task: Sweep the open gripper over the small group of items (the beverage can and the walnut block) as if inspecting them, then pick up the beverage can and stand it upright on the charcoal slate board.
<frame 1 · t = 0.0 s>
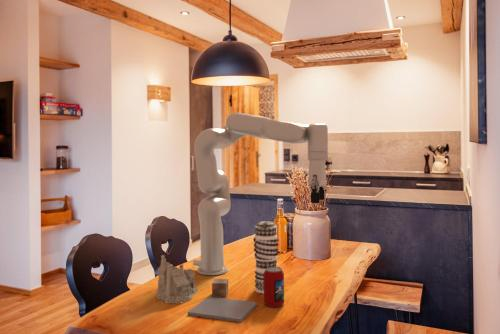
hand: (317, 201, 170), 31 cm above the table, tool pointing down, fingers open, 9 cm apart
walnut block: (220, 294, 159), on the table
ceramic cottage: (179, 295, 159), on the table
decorative candle: (266, 290, 163), on the table
beverage can: (274, 304, 149), on the table
slate board: (223, 309, 144), on the table
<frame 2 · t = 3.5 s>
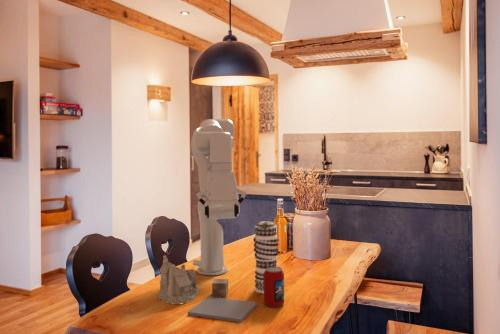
hand: (221, 217, 155), 28 cm above the table, tool pointing down, fingers open, 9 cm apart
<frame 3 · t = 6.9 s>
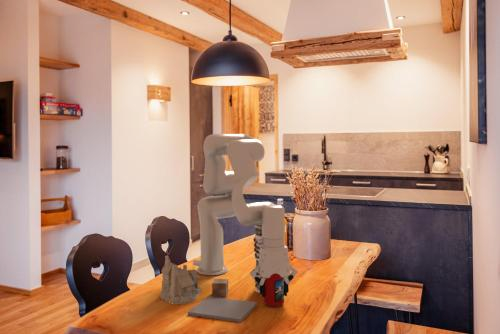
hand: (274, 294, 148), 3 cm above the table, tool pointing down, fingers closed on beverage can, 6 cm apart
beverage can: (274, 304, 149), on the table, touching gripper
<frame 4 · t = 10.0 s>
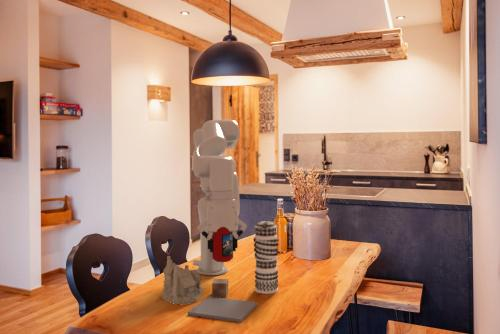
hand: (222, 250, 143), 19 cm above the table, tool pointing down, fingers closed on beverage can, 6 cm apart
beverage can: (222, 260, 143), point 16 cm above the table, touching gripper
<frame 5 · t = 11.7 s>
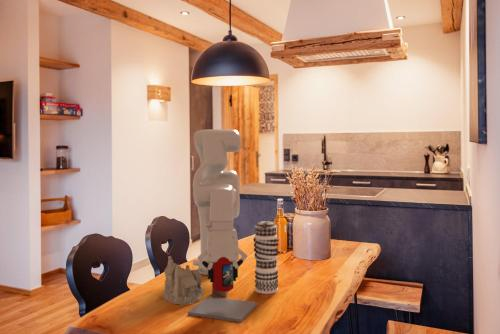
hand: (223, 280, 144), 10 cm above the table, tool pointing down, fingers closed on beverage can, 6 cm apart
beverage can: (223, 290, 144), point 6 cm above the table, touching gripper
when the fingers open (6 cm above the table, at t = 13.0 s): beverage can drops 2 cm, resting on slate board.
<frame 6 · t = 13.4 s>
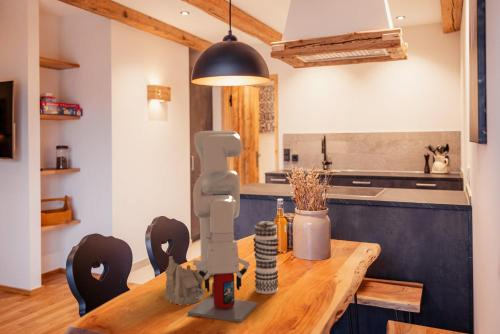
hand: (223, 289, 144), 7 cm above the table, tool pointing down, fingers open, 9 cm apart
beverage can: (224, 307, 144), point 1 cm above the table, touching slate board
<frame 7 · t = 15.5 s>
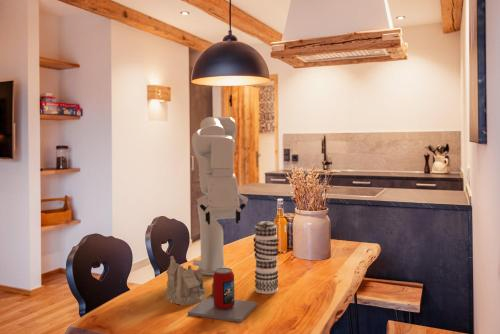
hand: (223, 223, 152), 27 cm above the table, tool pointing down, fingers open, 9 cm apart
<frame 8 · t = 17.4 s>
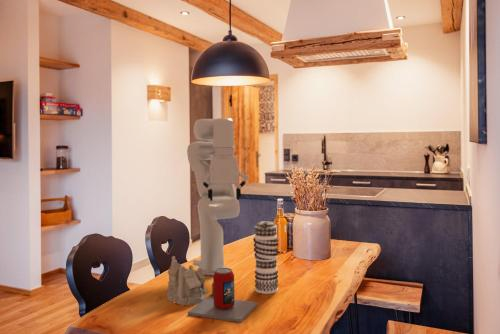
hand: (224, 199, 162), 33 cm above the table, tool pointing down, fingers open, 9 cm apart
at the end: beverage can inside the target area on the slate board (0.4 cm from its centre), point 0.8 cm above the slate board's base; beverage can tilted 0°; the gripper is holding nothing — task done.
